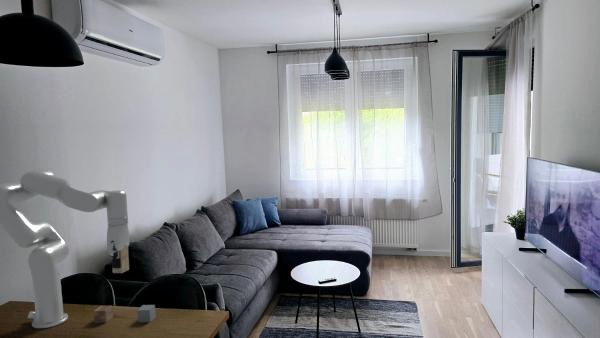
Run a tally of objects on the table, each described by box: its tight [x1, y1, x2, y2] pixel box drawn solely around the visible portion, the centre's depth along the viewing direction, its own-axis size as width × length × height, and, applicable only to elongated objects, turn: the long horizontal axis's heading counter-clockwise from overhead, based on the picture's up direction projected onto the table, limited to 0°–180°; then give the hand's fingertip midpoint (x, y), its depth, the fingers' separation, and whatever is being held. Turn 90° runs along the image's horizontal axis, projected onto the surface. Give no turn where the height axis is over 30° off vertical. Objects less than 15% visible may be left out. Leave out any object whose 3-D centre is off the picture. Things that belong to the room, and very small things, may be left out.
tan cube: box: [93, 305, 114, 324], centre depth 168 cm, size 5×5×5 cm
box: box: [112, 243, 130, 274], centre depth 168 cm, size 5×4×11 cm
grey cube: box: [137, 304, 157, 323], centre depth 167 cm, size 5×5×5 cm
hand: (120, 265), depth 168 cm, fingers closed on box, 5 cm apart
